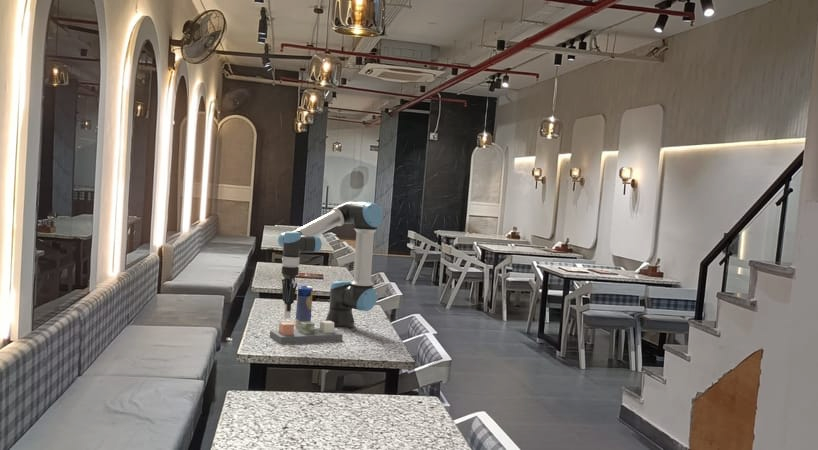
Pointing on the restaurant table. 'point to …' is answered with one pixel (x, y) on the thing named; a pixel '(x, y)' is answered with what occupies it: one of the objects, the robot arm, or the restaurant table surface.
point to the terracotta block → (286, 328)
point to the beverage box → (303, 305)
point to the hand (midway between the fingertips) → (286, 317)
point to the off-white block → (326, 326)
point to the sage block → (307, 327)
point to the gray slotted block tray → (305, 337)
